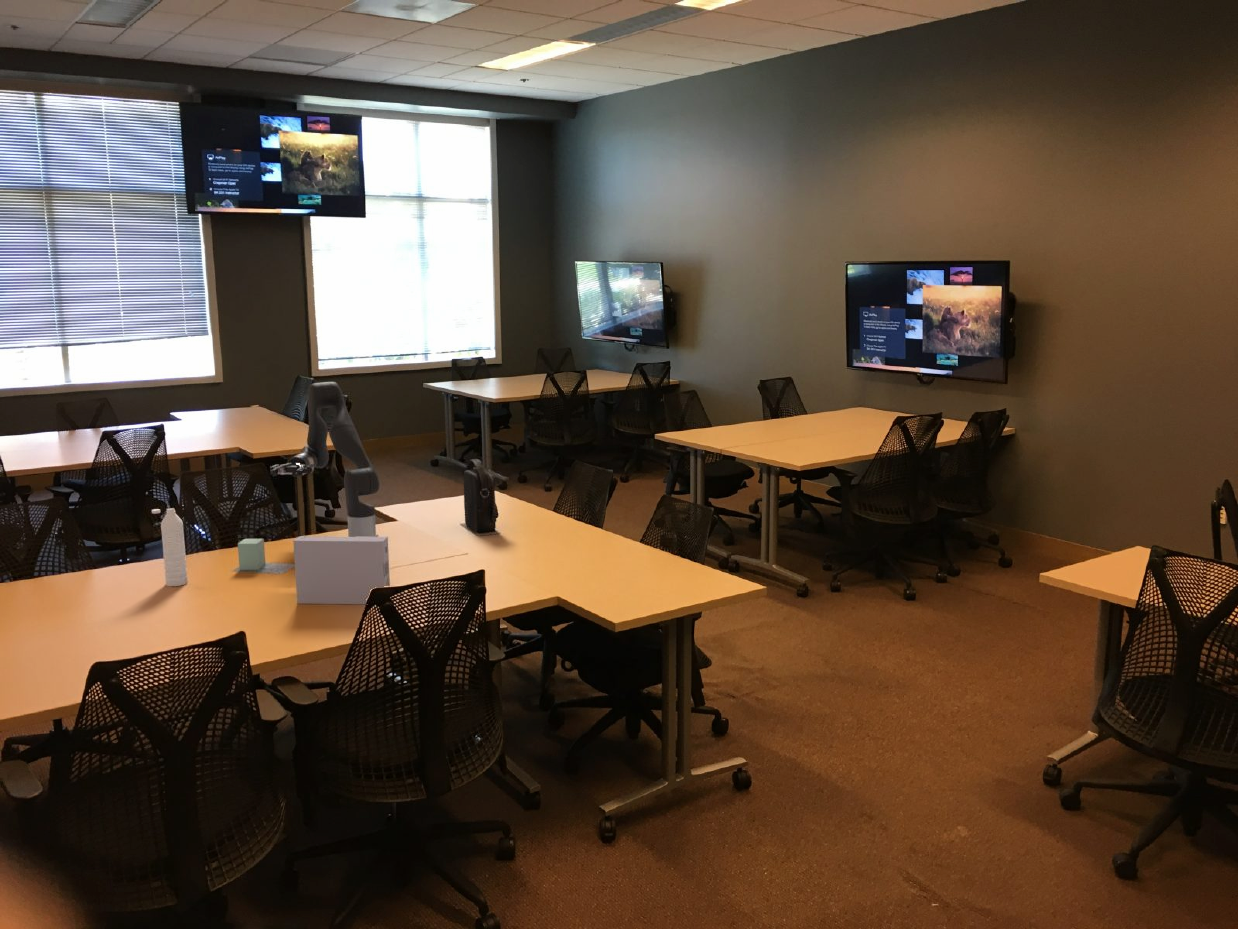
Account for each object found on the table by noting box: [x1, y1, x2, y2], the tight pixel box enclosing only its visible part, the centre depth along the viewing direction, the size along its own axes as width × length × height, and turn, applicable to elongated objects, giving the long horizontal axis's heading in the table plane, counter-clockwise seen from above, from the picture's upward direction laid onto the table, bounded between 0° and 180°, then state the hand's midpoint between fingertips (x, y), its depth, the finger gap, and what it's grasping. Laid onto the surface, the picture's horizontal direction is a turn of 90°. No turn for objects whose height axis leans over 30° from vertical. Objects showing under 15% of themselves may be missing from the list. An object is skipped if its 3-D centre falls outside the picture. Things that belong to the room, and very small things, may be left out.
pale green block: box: [237, 538, 266, 570], centre depth 332 cm, size 6×6×9 cm
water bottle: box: [151, 507, 189, 587], centre depth 317 cm, size 9×6×25 cm
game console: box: [292, 535, 391, 605], centre depth 301 cm, size 6×27×20 cm, turn 88°
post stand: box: [231, 562, 295, 575], centre depth 332 cm, size 18×11×8 cm, turn 80°
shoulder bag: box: [459, 458, 501, 537], centre depth 389 cm, size 23×9×28 cm, turn 28°
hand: (285, 473), depth 347 cm, fingers open, 8 cm apart
